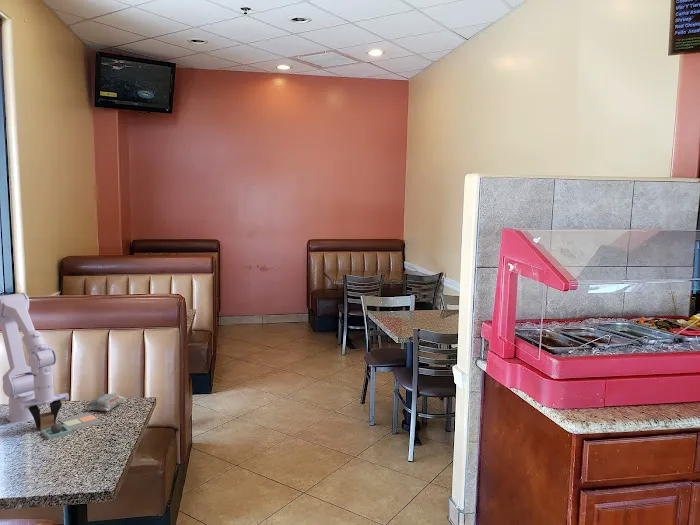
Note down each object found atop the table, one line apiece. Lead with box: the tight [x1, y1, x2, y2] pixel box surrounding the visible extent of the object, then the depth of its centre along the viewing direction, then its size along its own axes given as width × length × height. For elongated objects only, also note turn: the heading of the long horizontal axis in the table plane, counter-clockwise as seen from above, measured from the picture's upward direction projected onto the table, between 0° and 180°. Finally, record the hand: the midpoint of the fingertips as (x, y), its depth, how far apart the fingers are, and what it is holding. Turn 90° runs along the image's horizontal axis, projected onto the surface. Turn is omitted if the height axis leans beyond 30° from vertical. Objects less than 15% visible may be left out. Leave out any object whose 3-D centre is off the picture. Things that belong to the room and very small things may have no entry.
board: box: [58, 412, 103, 431], centre depth 190 cm, size 12×10×1 cm
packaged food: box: [87, 393, 128, 412], centre depth 204 cm, size 9×12×5 cm
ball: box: [51, 423, 62, 434], centre depth 180 cm, size 3×3×3 cm
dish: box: [40, 424, 73, 440], centre depth 180 cm, size 7×7×2 cm
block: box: [38, 411, 54, 431], centre depth 185 cm, size 4×4×5 cm
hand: (45, 425), depth 185 cm, fingers closed on block, 4 cm apart
